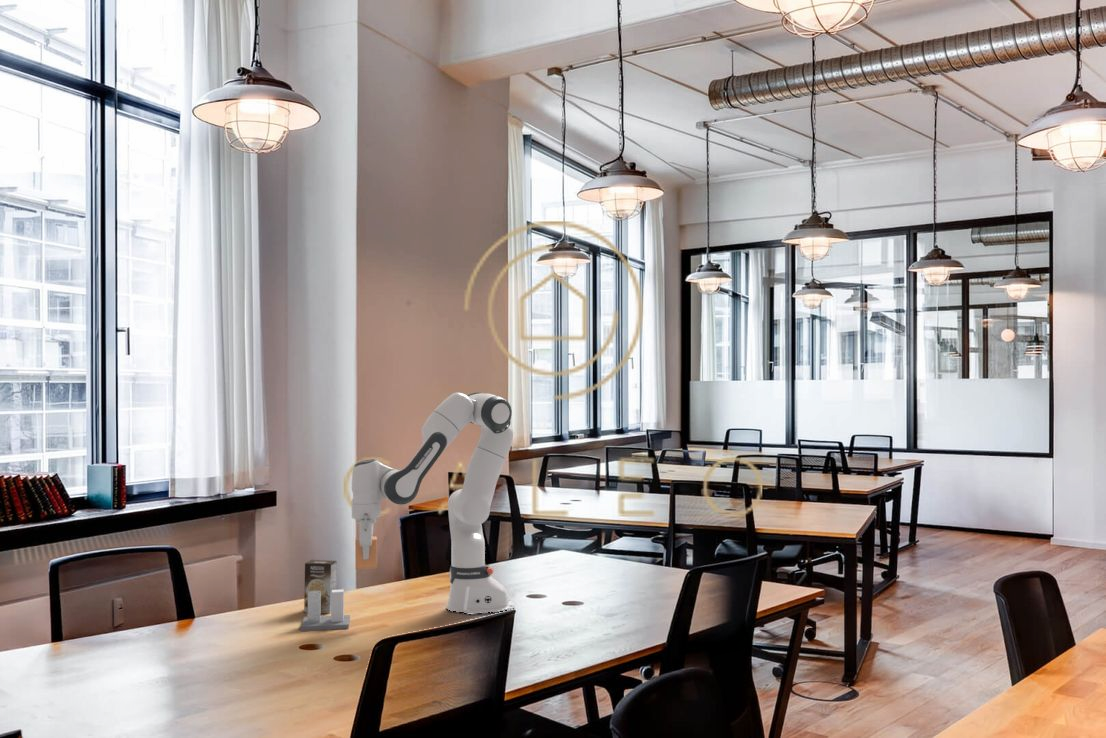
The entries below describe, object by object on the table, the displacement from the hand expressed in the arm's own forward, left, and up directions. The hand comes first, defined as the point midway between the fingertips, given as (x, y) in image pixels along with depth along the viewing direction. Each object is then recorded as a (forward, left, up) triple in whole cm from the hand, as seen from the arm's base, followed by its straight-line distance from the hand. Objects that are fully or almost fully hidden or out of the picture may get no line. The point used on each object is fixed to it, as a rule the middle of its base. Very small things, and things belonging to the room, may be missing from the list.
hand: (366, 556), depth 279 cm
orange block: (0, 0, -3) cm, 3 cm away
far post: (+16, 0, -21) cm, 26 cm away
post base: (+12, 0, -21) cm, 24 cm away
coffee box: (+15, -19, -21) cm, 32 cm away
